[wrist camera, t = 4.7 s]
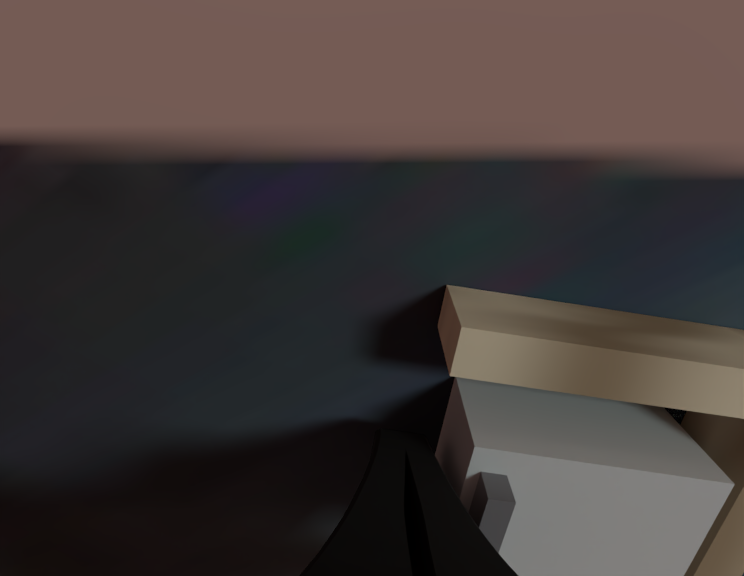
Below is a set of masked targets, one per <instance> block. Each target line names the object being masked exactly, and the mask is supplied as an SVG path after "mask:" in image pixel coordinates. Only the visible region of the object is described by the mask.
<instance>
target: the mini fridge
mask: <svg viewBox="0 0 744 576" xmlns="http://www.w3.org/2000/svg"><path fill="white" fill-rule="evenodd" d="M435 456H436V458H437V460H438V462H439V464H440V466H441V468H442V470H443V472H444V473H445V475H446V477H447V479H448V481H449V482H450V484H451V486H452V487H453V489H454V491H455V492H456V494H457V496H458V497H459V499H460V501H461V502H462V504H463V505H464V507H465V508H466V510H467V511H468V513H469V514H470V516H471V517H472V519H473V520H474V522H475V523H476V525H477V526H478V527H479V529H480V530H481V532H482V533H483V534H484V536H485V537H486V538H487V540H488V541H489V542H490V543H491V545H492V546H493V547H494V548H495V550H496V551H497V552H498V553H499V555H500V556H501V557H502V558H503V559H504V560H505V562H506V563H507V564H508V565H509V566H510V567H511V568H512V569H513V570H514V571H515V573H516V574H517V575H518V576H684V575H685V573H686V571H687V569H688V567H689V566H690V564H691V562H692V560H693V558H694V557H695V555H696V553H697V551H698V549H699V548H700V546H701V544H702V542H703V540H704V539H705V537H706V535H707V533H708V532H709V530H710V528H711V526H712V524H713V523H714V521H715V519H716V517H717V515H718V514H719V512H720V510H721V508H722V506H723V505H724V503H725V501H726V499H727V497H728V496H729V494H730V492H731V490H732V488H733V487H734V485H735V484H734V483H733V482H732V481H731V480H730V478H729V477H728V476H727V475H726V474H725V473H724V472H723V471H722V470H721V469H720V468H719V467H718V466H717V464H716V463H715V462H714V461H713V460H712V459H711V458H710V457H709V456H708V455H707V454H706V453H705V452H704V450H703V449H702V448H701V447H700V446H699V445H698V444H697V443H696V442H695V441H694V440H693V439H692V438H691V436H690V435H689V434H688V433H687V432H686V431H685V430H684V429H683V428H682V427H681V426H680V425H679V424H678V422H677V421H676V420H675V419H674V418H673V417H672V416H671V415H670V414H669V413H668V412H667V411H666V410H665V408H664V407H659V406H652V405H645V404H638V403H632V402H625V401H618V400H611V399H604V398H597V397H590V396H583V395H577V394H570V393H563V392H556V391H549V390H542V389H535V388H528V387H522V386H515V385H508V384H501V383H494V382H487V381H480V380H473V379H467V378H460V377H455V379H454V382H453V386H452V390H451V394H450V398H449V402H448V406H447V410H446V414H445V417H444V421H443V425H442V429H441V433H440V437H439V441H438V445H437V449H436V452H435Z"/></svg>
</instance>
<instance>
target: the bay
mask: <svg viewBox="0 0 744 576" xmlns="http://www.w3.org/2000/svg"><path fill="white" fill-rule="evenodd" d="M438 331H439V335H440V339H441V343H442V347H443V351H444V355H445V359H446V363H447V367H448V371H449V376H453V377H460V378H467V379H473V380H480V381H487V382H494V383H501V384H508V385H515V386H522V387H528V388H535V389H542V390H549V391H556V392H563V393H570V394H577V395H583V396H590V397H597V398H604V399H611V400H618V401H625V402H632V403H638V404H645V405H652V406H659V407H666V408H673V409H680V410H687V412H686V414H685V416H684V418H683V420H682V422H681V424H680V426H681V427H682V428H683V429H684V430H685V431H686V432H687V433H688V434H689V435H690V436H691V438H692V439H693V440H694V441H695V442H696V443H697V444H698V445H699V446H700V447H701V448H702V449H703V450H704V452H705V453H706V454H707V455H708V456H709V457H710V458H711V459H712V460H713V461H714V462H715V463H716V464H717V466H718V467H719V468H720V469H721V470H722V471H723V472H724V473H725V474H726V475H727V476H728V477H729V478H730V480H731V481H732V482H733V483H734V484H735V485H734V487H733V488H732V490H731V492H730V494H729V496H728V497H727V499H726V501H725V503H724V505H723V506H722V508H721V510H720V512H719V514H718V515H717V517H716V519H715V521H714V523H713V524H712V526H711V528H710V530H709V532H708V533H707V535H706V537H705V539H704V540H703V542H702V544H701V546H700V548H699V549H698V551H697V553H696V555H695V557H694V558H693V560H692V562H691V564H690V566H689V567H688V569H687V571H686V573H685V575H684V576H742V574H743V573H744V330H741V329H734V328H728V327H721V326H714V325H708V324H701V323H695V322H688V321H681V320H675V319H668V318H662V317H655V316H649V315H642V314H635V313H629V312H622V311H616V310H609V309H603V308H596V307H589V306H583V305H576V304H570V303H563V302H557V301H550V300H543V299H537V298H530V297H524V296H517V295H511V294H504V293H497V292H491V291H484V290H478V289H471V288H465V287H458V286H451V285H447V286H446V290H445V295H444V299H443V304H442V308H441V313H440V317H439V321H438Z"/></svg>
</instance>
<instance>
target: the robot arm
mask: <svg viewBox="0 0 744 576" xmlns="http://www.w3.org/2000/svg"><path fill="white" fill-rule="evenodd" d="M300 576H518V575H517V574H516V573H515V571H514V570H513V569H512V568H511V567H510V566H509V565H508V564H507V563H506V562H505V560H504V559H503V558H502V557H501V556H500V555H499V553H498V552H497V551H496V550H495V548H494V547H493V546H492V545H491V543H490V542H489V541H488V540H487V538H486V537H485V536H484V534H483V533H482V532H481V530H480V529H479V527H478V526H477V525H476V523H475V522H474V520H473V519H472V517H471V516H470V514H469V513H468V511H467V510H466V508H465V507H464V505H463V504H462V502H461V501H460V499H459V497H458V496H457V494H456V492H455V491H454V489H453V487H452V486H451V484H450V482H449V481H448V479H447V477H446V475H445V473H444V472H443V470H442V468H441V466H440V464H439V462H438V460H437V458H436V456H435V454H434V452H433V450H432V448H431V446H430V444H429V442H428V440H427V438H426V437H425V435H423V434H416V433H409V432H402V431H395V430H387V429H379V430H377V431H376V432H375V438H374V443H373V448H372V453H371V459H370V462H369V465H368V467H367V470H366V472H365V474H364V477H363V479H362V482H361V484H360V486H359V488H358V490H357V492H356V494H355V496H354V498H353V500H352V502H351V503H350V505H349V507H348V509H347V510H346V512H345V514H344V516H343V517H342V519H341V520H340V522H339V524H338V525H337V527H336V528H335V530H334V531H333V533H332V534H331V536H330V537H329V539H328V540H327V542H326V543H325V544H324V546H323V547H322V549H321V550H320V551H319V553H318V554H317V555H316V557H315V558H314V559H313V560H312V562H311V563H310V564H309V565H308V566H307V568H306V569H305V570H304V571H303V572H302V574H301V575H300Z"/></svg>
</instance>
